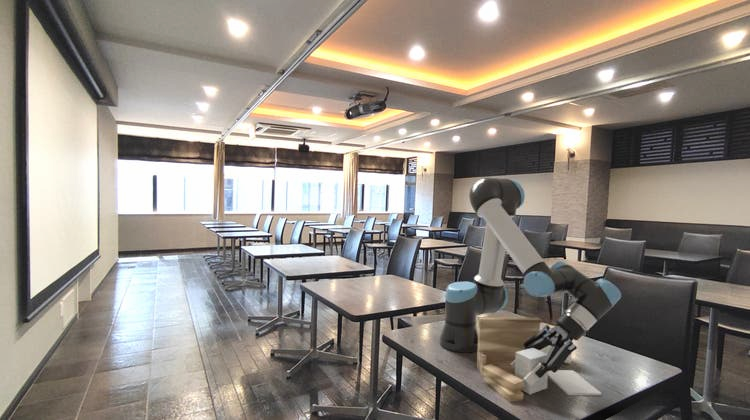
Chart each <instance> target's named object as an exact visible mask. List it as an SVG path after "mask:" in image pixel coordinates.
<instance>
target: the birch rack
mask: <svg viewBox="0 0 750 420" xmlns="http://www.w3.org/2000/svg"><path fill="white" fill-rule="evenodd" d="M477 321H478V326H477V327H478V328H477V332H478V350H477V353H476V357H477V358H476V368H477V370H478V371H479V373H480V374H481V375H482V367H483V366H486V365H489V364H492V365H494V366H496V367H498V368H500V369H502V370H504V371H506V372H508V373H510V374H512V375H514V376H515V368H514V367H513V366H512V365H511V363H512V362H513V361H514V360H515V357H516V352H519V351H522V350H525V346H524V343H525V342H527V341H528V340H529V339H531V338H532V337H533V336H534V335H536V334H537V333H538V332H540V331H541V328H540V326H541V324H542V323H543V319H541V318H540V317H524V316H523V317H520V316H519V317H515V316H514V317H509V316H508V317H507V316H503V317H502V316H500V317H499V316H498V317H497V316H477Z"/></svg>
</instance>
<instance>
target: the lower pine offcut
mask: <svg viewBox="0 0 750 420" xmlns="http://www.w3.org/2000/svg"><path fill="white" fill-rule="evenodd" d="M481 379H482V380H483V381H484V382H486V383H487V384H489V386H490V387H491V388H492V389H494V390H495V391H496V392H497V393H498V394H500V396H502V397H503V398H504V399H505V400H506V401H508V402H509V403H511V402H518V401H524V391H522V390H520V391H518V392H515V393H514V392H513V391H511V390H509V389H507V388H505V387H504V386H502V385H500V384H498V383H496V382H494V381H493V380H491V379H489V378H487V377H485V376H484V375H482V374H481Z"/></svg>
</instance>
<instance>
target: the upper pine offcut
mask: <svg viewBox="0 0 750 420" xmlns="http://www.w3.org/2000/svg"><path fill="white" fill-rule="evenodd" d="M482 375H484V376H485V377H487V378H489V379H491V380H493V381H494V382H496V383H498V384H500V385H502V386H504V387H505V388H507V389H509V390H511V391H513V392H514V393H515V392H518V391H522V389H524V380H522V379H520V378H518V377H516V376H515V375H512V374H510V373H508V372H506V371H504V370H502V369H500V368H498V367H496V366H494V365H492V364H489V365H486V366H483V367H482V374H481V376H482Z"/></svg>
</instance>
